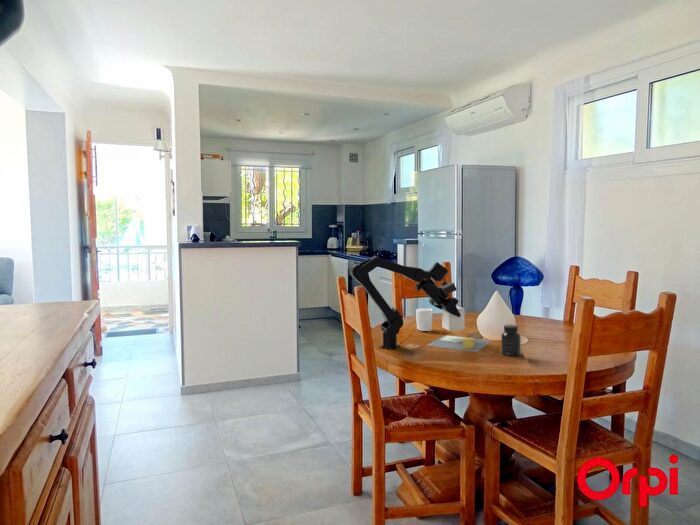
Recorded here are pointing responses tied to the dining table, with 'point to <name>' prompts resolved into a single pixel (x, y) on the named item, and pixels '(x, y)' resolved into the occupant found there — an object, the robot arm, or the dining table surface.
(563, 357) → the dining table surface
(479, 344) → the board
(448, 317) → the white rounded cube
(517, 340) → the supplement bottle
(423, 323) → the white cup
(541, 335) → the dining table surface
